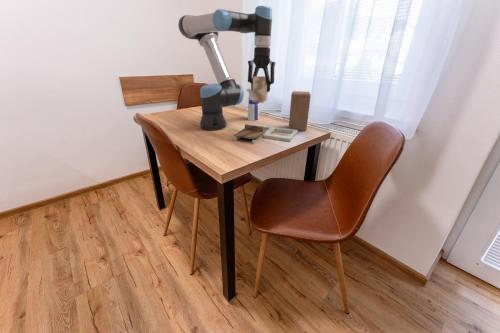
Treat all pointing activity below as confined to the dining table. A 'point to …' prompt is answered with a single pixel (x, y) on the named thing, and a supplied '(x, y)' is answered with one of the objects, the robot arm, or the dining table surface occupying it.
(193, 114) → the dining table surface
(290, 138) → the puzzle board
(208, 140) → the dining table surface
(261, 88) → the beech block
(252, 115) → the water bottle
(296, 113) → the wooden block
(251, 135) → the walnut lid
